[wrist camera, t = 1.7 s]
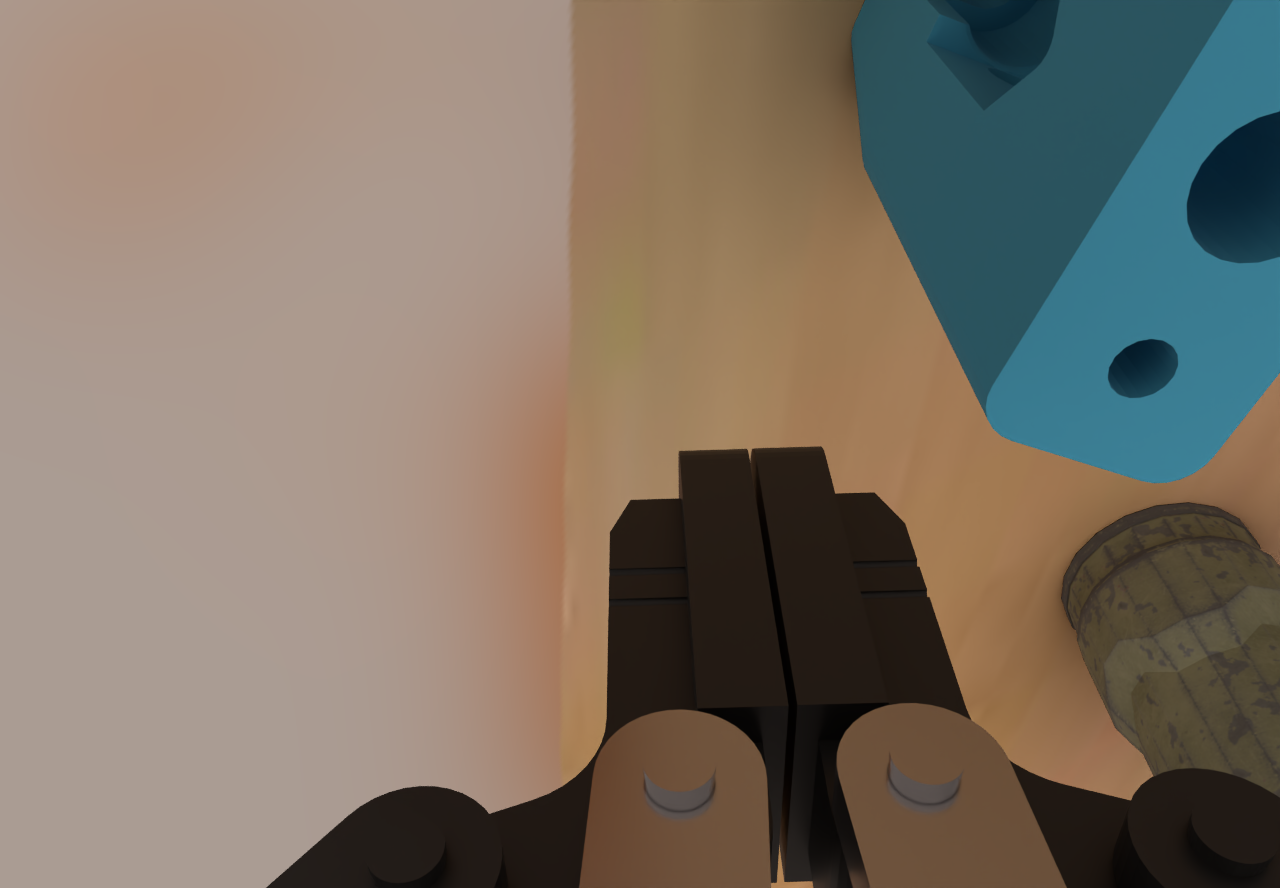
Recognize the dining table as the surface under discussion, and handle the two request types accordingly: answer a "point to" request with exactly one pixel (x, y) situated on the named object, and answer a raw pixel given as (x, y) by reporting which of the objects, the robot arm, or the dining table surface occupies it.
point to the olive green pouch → (1184, 638)
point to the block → (1088, 210)
